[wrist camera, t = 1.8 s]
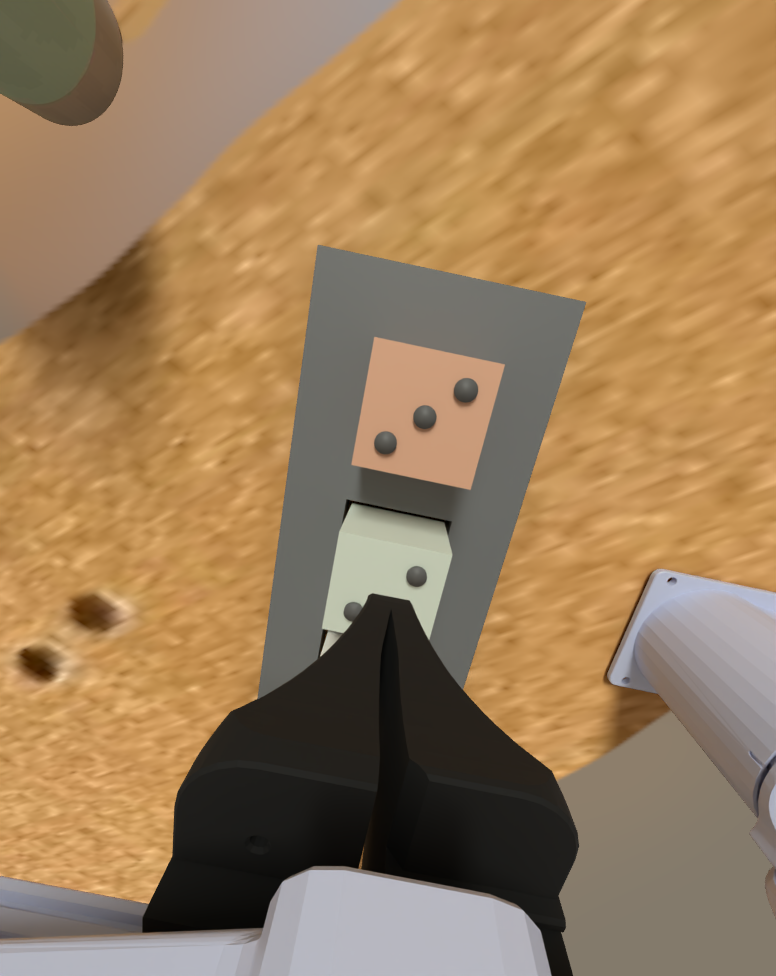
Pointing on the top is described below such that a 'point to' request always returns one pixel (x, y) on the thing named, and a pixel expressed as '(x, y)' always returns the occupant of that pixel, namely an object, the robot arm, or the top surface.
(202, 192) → the top surface
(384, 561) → the key two
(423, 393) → the key three
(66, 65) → the coffee cup
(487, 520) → the keypad board
